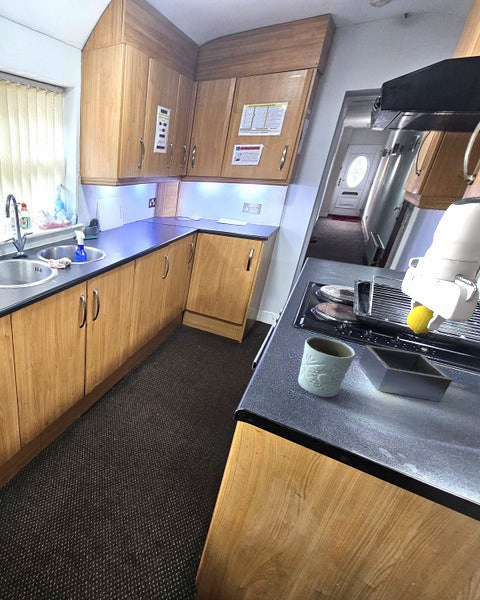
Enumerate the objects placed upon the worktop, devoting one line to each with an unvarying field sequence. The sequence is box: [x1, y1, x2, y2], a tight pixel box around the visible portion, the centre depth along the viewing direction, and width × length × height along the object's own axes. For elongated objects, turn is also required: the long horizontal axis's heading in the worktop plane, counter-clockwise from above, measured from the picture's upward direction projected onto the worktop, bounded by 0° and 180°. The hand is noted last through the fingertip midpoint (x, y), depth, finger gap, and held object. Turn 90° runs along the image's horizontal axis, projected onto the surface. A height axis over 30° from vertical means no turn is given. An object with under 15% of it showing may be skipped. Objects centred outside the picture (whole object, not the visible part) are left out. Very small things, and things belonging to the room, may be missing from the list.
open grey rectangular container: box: [357, 344, 453, 403], centre depth 86 cm, size 13×13×7 cm
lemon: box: [406, 305, 434, 335], centre depth 81 cm, size 6×6×8 cm
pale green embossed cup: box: [297, 336, 356, 398], centre depth 83 cm, size 10×10×12 cm
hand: (422, 322), depth 81 cm, fingers closed on lemon, 5 cm apart
